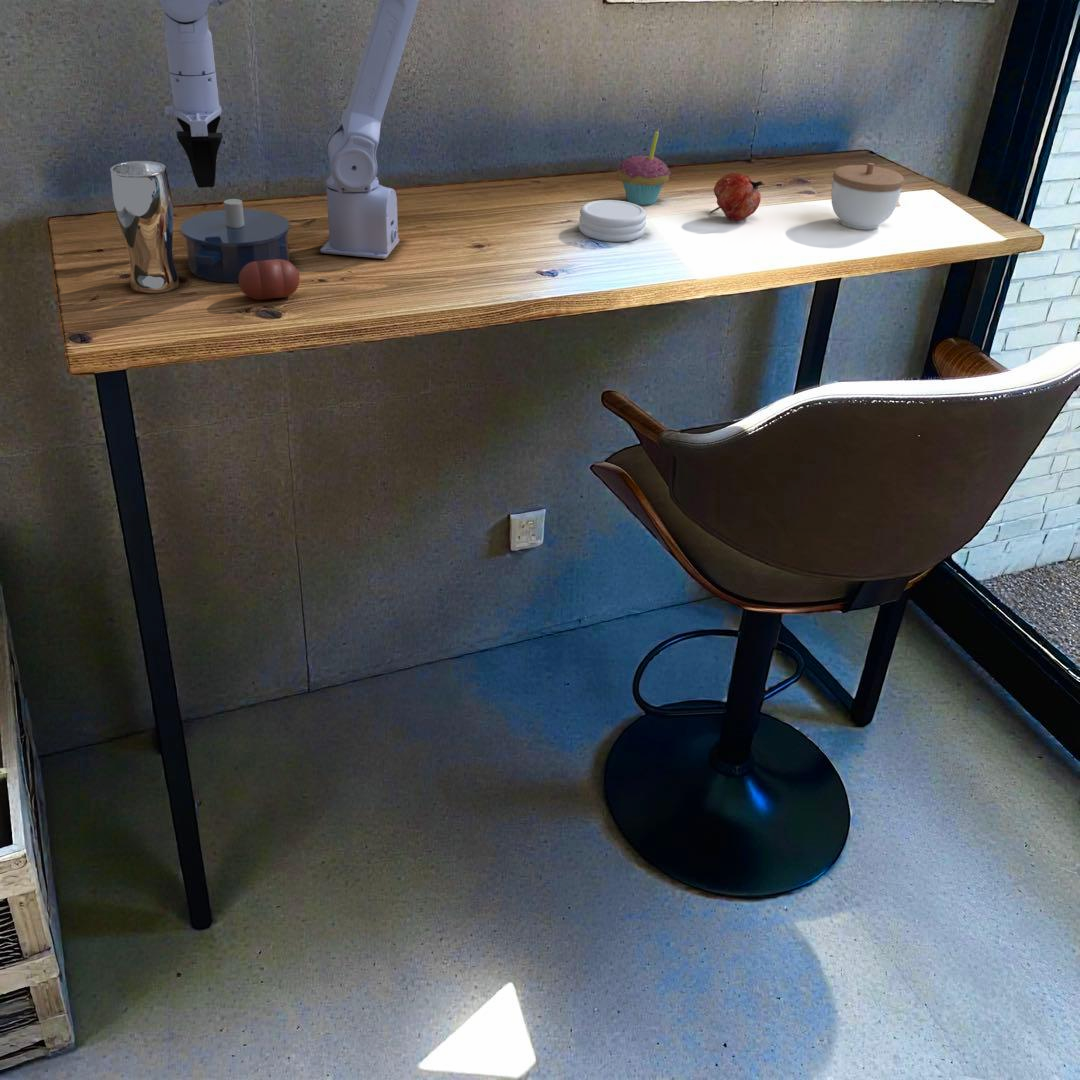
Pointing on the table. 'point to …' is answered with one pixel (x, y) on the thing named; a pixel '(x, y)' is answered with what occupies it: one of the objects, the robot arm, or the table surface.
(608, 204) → the coaster
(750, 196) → the pomegranate
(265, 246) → the pan
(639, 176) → the cupcake
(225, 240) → the pan lid
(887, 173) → the lidded sugar bowl
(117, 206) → the beer glass
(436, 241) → the table surface
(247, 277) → the red ribbed oval
